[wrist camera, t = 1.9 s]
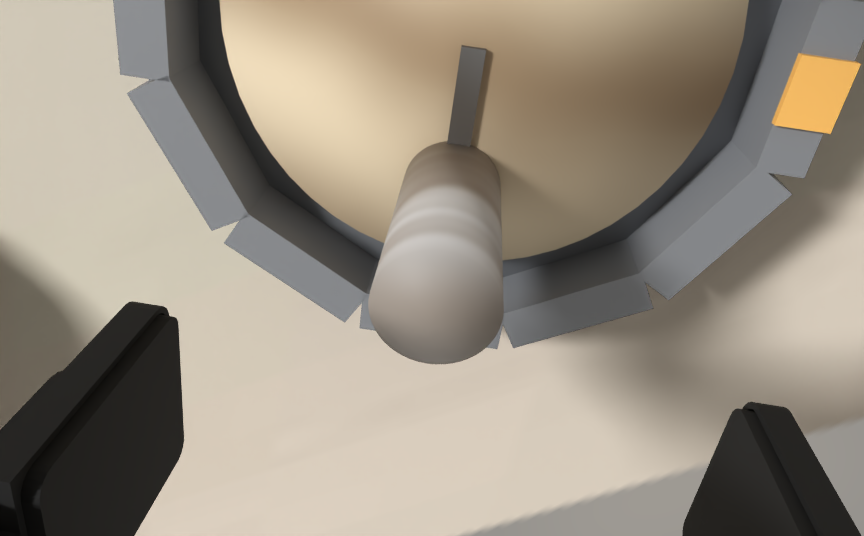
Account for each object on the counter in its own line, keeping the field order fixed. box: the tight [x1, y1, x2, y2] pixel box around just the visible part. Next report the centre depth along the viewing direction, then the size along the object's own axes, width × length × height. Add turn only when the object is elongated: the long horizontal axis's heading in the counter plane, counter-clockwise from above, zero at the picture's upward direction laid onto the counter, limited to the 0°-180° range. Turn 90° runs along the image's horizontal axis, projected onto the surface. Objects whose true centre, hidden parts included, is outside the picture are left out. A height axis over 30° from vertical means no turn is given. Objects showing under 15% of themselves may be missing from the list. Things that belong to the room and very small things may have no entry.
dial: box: [220, 0, 749, 364], centre depth 14 cm, size 12×12×7 cm
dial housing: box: [113, 0, 864, 349], centre depth 17 cm, size 18×18×4 cm
